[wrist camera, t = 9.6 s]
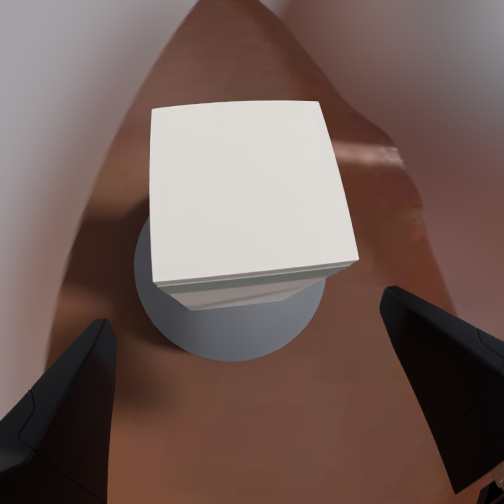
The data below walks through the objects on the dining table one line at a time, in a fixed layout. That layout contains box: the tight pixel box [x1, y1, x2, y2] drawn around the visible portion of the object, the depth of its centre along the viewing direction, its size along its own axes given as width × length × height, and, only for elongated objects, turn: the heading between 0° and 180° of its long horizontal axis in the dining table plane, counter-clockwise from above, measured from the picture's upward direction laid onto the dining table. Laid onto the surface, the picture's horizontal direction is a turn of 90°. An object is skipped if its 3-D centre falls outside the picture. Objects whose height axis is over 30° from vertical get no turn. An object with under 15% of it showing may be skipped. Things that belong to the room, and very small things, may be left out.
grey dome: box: [134, 215, 326, 362], centre depth 19 cm, size 11×11×3 cm
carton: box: [150, 101, 359, 311], centre depth 13 cm, size 5×5×10 cm
